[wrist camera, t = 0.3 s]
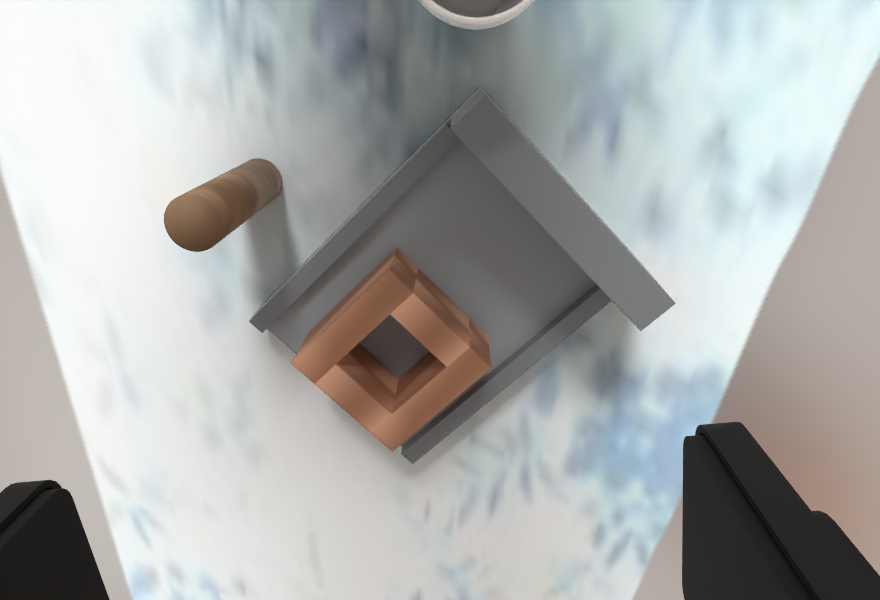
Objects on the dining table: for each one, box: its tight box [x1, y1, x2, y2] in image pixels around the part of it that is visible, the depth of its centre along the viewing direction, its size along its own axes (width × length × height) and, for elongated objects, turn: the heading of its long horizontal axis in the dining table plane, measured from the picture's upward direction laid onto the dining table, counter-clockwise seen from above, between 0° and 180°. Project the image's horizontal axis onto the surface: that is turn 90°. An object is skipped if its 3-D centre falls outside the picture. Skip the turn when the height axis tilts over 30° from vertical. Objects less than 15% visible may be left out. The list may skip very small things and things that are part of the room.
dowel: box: [164, 159, 282, 252], centre depth 39 cm, size 3×3×12 cm
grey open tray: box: [249, 87, 676, 464], centre depth 43 cm, size 16×22×9 cm
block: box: [291, 248, 491, 451], centre depth 44 cm, size 9×9×5 cm
